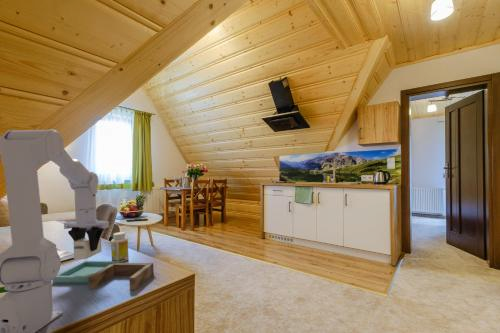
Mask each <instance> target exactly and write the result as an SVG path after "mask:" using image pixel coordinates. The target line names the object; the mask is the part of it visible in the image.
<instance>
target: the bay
mask: <svg viewBox="0 0 500 333" xmlns="http://www.w3.org/2000/svg"><path fill="white" fill-rule="evenodd" d="M154 272H155V271H154V262H120V263H112V264H110V265H108V266H107V267H105V268H103V269H101V270H100V271H98V272H96V273H95V274H93V275H91V276H90V277H88V279H89V284H88V290H95V289H97V288H98V287H99V286H101V285H102V284H103V285H104V284H105V283H106V282H107V281H109V280H110V279H111V278H113V277H114V276H116V277H117V276H119V277H120V276H121V277H123V276H124V277H126V276H127V277H128V278H129V291H136V290H137V289H138V288H139V287H140V286H142V285H143V284H145V283H146V282H147V280H148V279H150V278H151V277H152V276H153V275H154ZM129 276H130V277H129Z"/></svg>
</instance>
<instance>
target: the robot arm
mask: <svg viewBox="0 0 500 333" xmlns="http://www.w3.org/2000/svg"><path fill="white" fill-rule="evenodd" d="M64 144H65V143H64V138H63V136H62V135H61V133H60V132H59V130H56V129H53V128H50V129H27V130H26V129H24V130H23V129H20V130H18V129H8V130H7V131H5V132H4V133H3V134H2V135H1V136H0V160H1V164H2V165H3V172H4V182H5V191H6V198H7V199H6V200H7V208H8V218H9V227H10V228H9V229H10V235H11V244H10V245H9V246H8V247H6V248H5V249H3V251H1V252H0V286H4V291H6V293H5V294H3V295H2V296H1V297H0V333H36V332H38V331H39V330H41V329H42V328H43V327H45V326H46V325H48V324H49V323H51V322H53V321H54V320H55V319H57V318H58V317H60V316H61V315H62V314H63V311H62V310H54V309H53V288H52V286H53V285H52V284H53V279H54V278H55V276H56V275H58V274H59V272H60V268H61V263H62V261H61V260H62V259H61V256H60V255H59V252H58V250H57V245H56V243H55V242H53V241H51V240H49V239H47V238H45V237H44V236H45V235H44V227H43V226H44V224H43V216H42V208H41V207H42V206H41V197H40V187H39V176H38V171H39V169H40V168H41V167H42V166H43V165H46V164H49V162H52V163H53V164H55V165H57V166H58V167H59V173H60V174H61V175H62V176H63V177H65V178H66V179H67V180H68V181H67V182H68V183H69V185H70V189H71V190H74V211H75V216H74V217H75V221H66V222H63V229H64V230H68V229H69V231H67V234H68V235H69V236H70V237H71V239H72V240H73V242H74V241H77V240H80V239H82V238H85V237H86V235H87V237H88V238H89V242H90V250H91V251H94V250H96V249H97V247H98V243H99V239H100V236H101V237H102V234H103V233H104V231H105V229H108V228H109V227H110V221H107V220H106V221H105V220H98V219H97V199H96V195H97V194H98V187H99V186H98V185H99V181H100V180H99V178H98V174H97V173H95V172H93V171H89V170H88V168H86V166H84V165H83V163H82V162H81V161H80V160H79V159H78V158H77V159H76V158H72V157H71V155H69V153H68V151H66V149H65V147H64V146H65V145H64Z"/></svg>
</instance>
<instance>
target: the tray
mask: <svg viewBox="0 0 500 333" xmlns="http://www.w3.org/2000/svg"><path fill="white" fill-rule="evenodd" d="M112 263H119V261H112V260H83V261H82V262H80V263H78V264H76V265H73V266H72V267H70V268H68V269H66V270H63V271H62V272H60V273H58V274H57V275H56V276H55V278H54V279H53V280H52V284H54V285H55V284H57V285H59V284H61V285H62V284H63V285H89V279H88V277H90V276H91V275H93V274H95V273H96V272H98V271H100V270H101V269H103V268H105V267H107V266H108V265H110V264H112Z"/></svg>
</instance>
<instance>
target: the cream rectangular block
mask: <svg viewBox="0 0 500 333" xmlns="http://www.w3.org/2000/svg"><path fill="white" fill-rule="evenodd" d="M72 244H73V259H74V260H87V259H89V258H92V257H93V256H95V255H97V254H99V253H101V252H102V235H101V236H100V239H99V243H98V247H97V249H96V250H94V251H91V250H90V242H89V238H88V236H85V238H82V239H80V240H77V241H74V240H73V243H72Z"/></svg>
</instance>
